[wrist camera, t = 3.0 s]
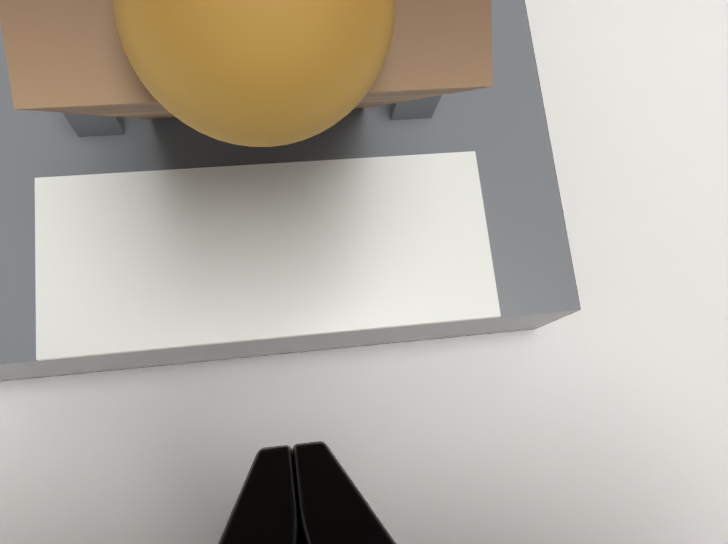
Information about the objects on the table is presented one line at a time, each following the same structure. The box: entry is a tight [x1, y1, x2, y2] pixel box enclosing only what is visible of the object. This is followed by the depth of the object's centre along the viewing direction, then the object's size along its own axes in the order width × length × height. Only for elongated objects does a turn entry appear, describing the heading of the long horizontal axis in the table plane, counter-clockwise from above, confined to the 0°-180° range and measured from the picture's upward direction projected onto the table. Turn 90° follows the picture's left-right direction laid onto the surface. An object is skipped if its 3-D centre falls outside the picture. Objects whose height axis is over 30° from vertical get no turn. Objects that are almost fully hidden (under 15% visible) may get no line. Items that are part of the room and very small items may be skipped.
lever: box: [0, 0, 493, 147], centre depth 11 cm, size 3×5×11 cm, turn 96°
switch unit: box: [0, 0, 581, 381], centre depth 17 cm, size 13×14×5 cm
